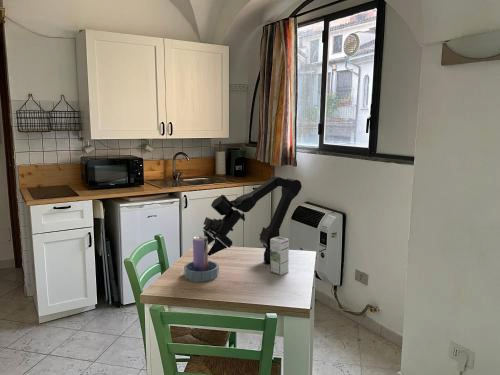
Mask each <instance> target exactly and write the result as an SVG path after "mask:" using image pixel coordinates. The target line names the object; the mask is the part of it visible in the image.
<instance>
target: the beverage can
mask: <svg viewBox="0 0 500 375" xmlns="http://www.w3.org/2000/svg"><path fill="white" fill-rule="evenodd" d="M192 251H193V252H192V255H193V256H192V257H193V260H192V262H193V266H194V271H198V272H203V271H208V261H209V255H207V254H208V252H209V244H208V239H207V237H206V236H204V235H195V236H194V237H192Z"/></svg>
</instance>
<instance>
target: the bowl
mask: <svg viewBox="0 0 500 375" xmlns="http://www.w3.org/2000/svg"><path fill="white" fill-rule="evenodd" d="M219 270H220V265H219V264H218V263H217V261H212V260H208V271H203V272H198V271H194V266H193V261H190V262H187V263H186V264H185V265H184V266H183V274H184V278H185V279H186V280H187V281H190V282H194V283H203V282H204V283H205V282H206V283H207V282H210V281H213V280H216V279H217V278H218V277H219V273H220V271H219Z"/></svg>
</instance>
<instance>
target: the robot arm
mask: <svg viewBox="0 0 500 375" xmlns="http://www.w3.org/2000/svg"><path fill="white" fill-rule="evenodd" d="M278 187H281V196H280V199H279V202H278V204H277V206H276V208H275V211H274V213H273V215H272V218H271V220H270V223H269V225H268V226H267V227H263V226H262V228H261V232H260V234H259V241H260V243H261V245H262V246H263V248H265V250H264V251H263V262H264V265H270V239H272V238H274V237H278V236H279V237H281V236H280V231H281V227H282V225H283V222H284V220H285V218H286V215H287V212H288V210H289V208H290V206H291V203H292V201H293V200H294V199H295V198H296V197H297V196H298V195H299V193H300V192H301V190H302V187H303V186H302V182H301V181H300V180H299V179H295V178H290V177H288V178H286V179H285V178H283V177H280V176H276V175H273V176H271V177H270V179H268V180H267V181H265V182H264V183H262V184H261V185H259V186H258V187H257V188H254V190H252V191H251V192H248V193H245V194H241V195H240V196H238V197H236V198H235V199H232V200H229V199H228V198H227V197H226V195H224V194H221V195H220V196H217V197H216V198H215V199H214V200H213V201H212V202H211V205H210V206H211V208H212V209H214V210H215V211H216V212H217V213H218V214H219V215H220V216H223V218H219V219H216V218H210V217H207V216H206V217H205V220H204V222H203V227H202V229H203V230H202V231H203V236H206V237H207V239H208V245H210V244H211V243H213V242H214V243H213V245H212V246H211V247H210V249H208V254H207V255H208V257H210V256H212V255H214V254H216V253H218V252H220V251H222V250H225V249H226V250H227V249H228V248H229V249H230V248H231V247H232V246H233V240H232V239H231V238H230V237H228V234H229V233H230V232H234V230H235V229H234V227H235V225H237V223H238V222H239V221H240V220H241V221H243V222H244V221H246V217H245V214H244V213H248V212H250V211H251V210H252V209H253V208H254V207H255V206H256V205H257V203H258V201H260V200H261V199H262V198H264V197H265V196H267V195H269V194H270V193H271V192H272V191H274V190H276V189H277V188H278ZM241 212H242V213H241Z"/></svg>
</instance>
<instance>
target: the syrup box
mask: <svg viewBox="0 0 500 375" xmlns="http://www.w3.org/2000/svg"><path fill="white" fill-rule="evenodd" d="M289 240H290V239H289V238H286V237H283V236H280V237H279V236H278V237H274V238H272V239H270V264H269V265H270V266H269V267H270V270H269V271H270V273H273V274H276V275H279V276H283V275H284V274H287V273H289V268H290V267H289V263H290V262H289V258H290V257H289V252H290V250H289V248H290V243H289V242H290V241H289Z"/></svg>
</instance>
